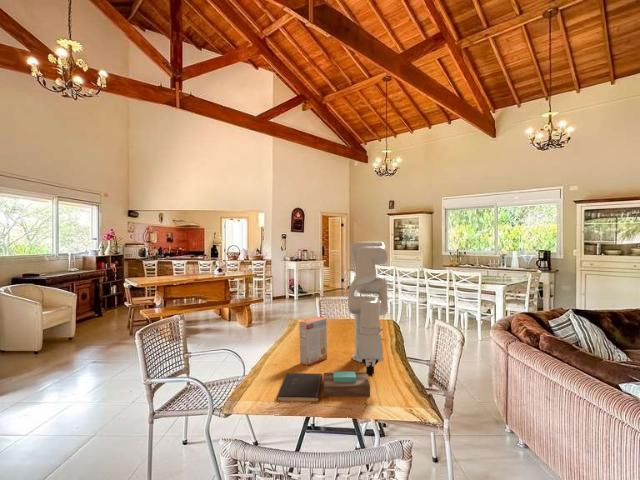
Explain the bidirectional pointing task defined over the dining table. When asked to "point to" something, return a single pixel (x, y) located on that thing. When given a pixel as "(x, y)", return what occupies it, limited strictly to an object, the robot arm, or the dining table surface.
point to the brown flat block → (346, 386)
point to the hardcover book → (300, 387)
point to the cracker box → (313, 340)
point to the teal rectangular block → (344, 376)
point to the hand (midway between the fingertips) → (370, 375)
